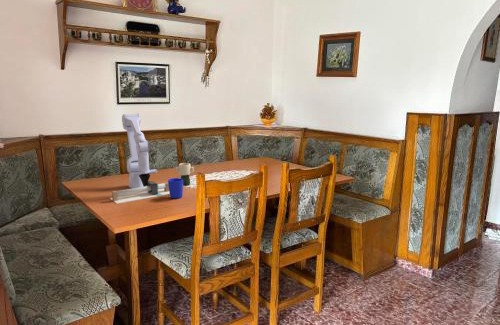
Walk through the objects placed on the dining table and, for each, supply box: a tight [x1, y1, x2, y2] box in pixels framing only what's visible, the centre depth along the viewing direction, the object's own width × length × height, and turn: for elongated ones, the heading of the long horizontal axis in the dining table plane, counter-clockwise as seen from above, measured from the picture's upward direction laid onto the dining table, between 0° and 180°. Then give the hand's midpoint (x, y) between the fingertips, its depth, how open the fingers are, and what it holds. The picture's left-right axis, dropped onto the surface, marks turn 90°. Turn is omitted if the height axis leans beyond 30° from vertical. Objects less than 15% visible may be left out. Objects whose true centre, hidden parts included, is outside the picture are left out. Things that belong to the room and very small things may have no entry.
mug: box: [167, 177, 184, 200], centre depth 221 cm, size 8×12×10 cm
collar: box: [146, 180, 159, 195], centre depth 226 cm, size 8×3×6 cm, turn 36°
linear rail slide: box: [109, 181, 170, 205], centre depth 222 cm, size 12×32×5 cm, turn 126°
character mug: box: [175, 162, 195, 186], centre depth 246 cm, size 11×7×13 cm, turn 87°
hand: (145, 186), depth 227 cm, fingers closed
